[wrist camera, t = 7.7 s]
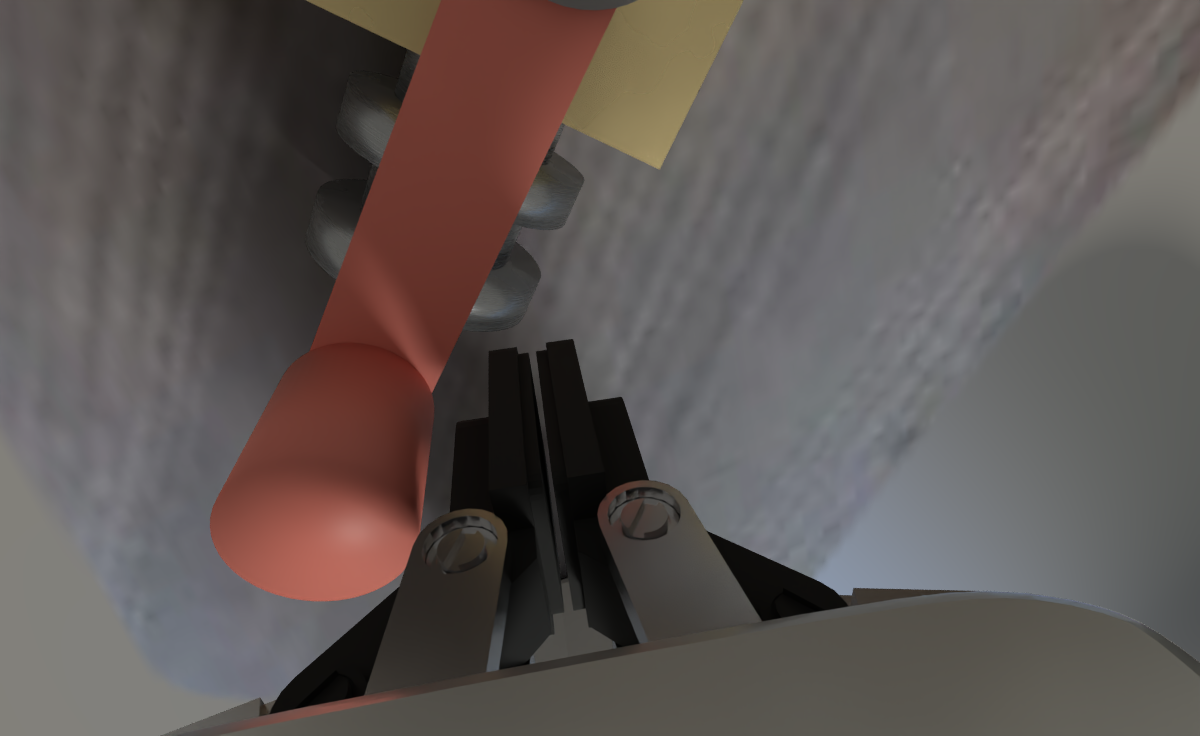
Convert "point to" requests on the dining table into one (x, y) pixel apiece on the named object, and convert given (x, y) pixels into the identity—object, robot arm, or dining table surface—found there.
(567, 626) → the water bottle
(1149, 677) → the robot arm
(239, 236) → the dining table surface
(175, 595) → the dining table surface
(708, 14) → the valve
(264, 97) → the dining table surface
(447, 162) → the lever
